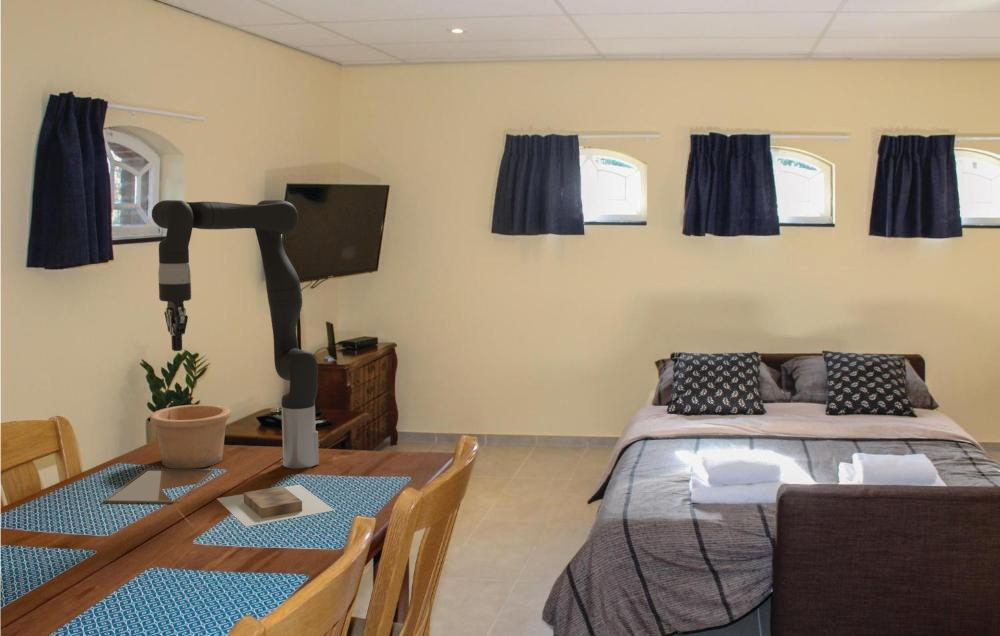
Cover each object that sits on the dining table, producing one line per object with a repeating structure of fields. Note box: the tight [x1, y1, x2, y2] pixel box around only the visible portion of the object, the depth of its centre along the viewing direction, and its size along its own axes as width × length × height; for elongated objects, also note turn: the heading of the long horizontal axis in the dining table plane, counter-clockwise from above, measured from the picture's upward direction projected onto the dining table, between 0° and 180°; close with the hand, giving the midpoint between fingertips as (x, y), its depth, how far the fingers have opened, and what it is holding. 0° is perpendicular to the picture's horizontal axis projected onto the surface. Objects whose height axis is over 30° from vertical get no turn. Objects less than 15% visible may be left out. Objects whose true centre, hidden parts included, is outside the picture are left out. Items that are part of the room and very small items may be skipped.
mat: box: [216, 484, 335, 528], centre depth 235 cm, size 22×24×1 cm
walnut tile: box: [243, 485, 302, 518], centre depth 233 cm, size 10×2×14 cm
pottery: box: [149, 403, 231, 469], centre depth 273 cm, size 22×22×14 cm
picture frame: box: [102, 468, 215, 505], centre depth 251 cm, size 19×1×28 cm
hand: (177, 350), depth 237 cm, fingers closed
